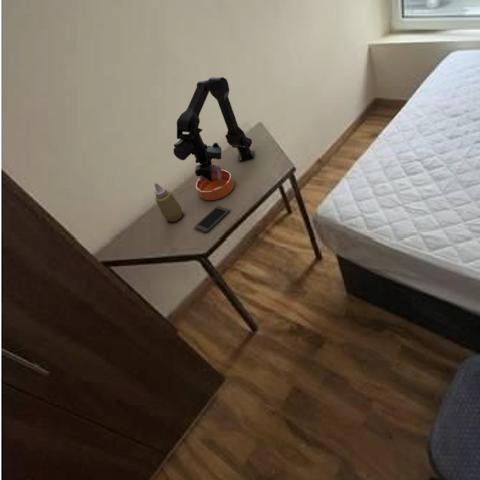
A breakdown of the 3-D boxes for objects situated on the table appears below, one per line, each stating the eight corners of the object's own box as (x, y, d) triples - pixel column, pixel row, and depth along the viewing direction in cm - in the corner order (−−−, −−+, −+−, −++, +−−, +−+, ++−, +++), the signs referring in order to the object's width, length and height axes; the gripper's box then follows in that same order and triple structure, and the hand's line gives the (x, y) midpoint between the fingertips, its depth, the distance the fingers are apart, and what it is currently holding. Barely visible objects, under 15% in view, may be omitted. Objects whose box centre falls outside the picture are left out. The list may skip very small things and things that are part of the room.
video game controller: (224, 179, 175) (221, 163, 173) (220, 181, 171) (217, 164, 169) (204, 181, 177) (200, 165, 175) (199, 183, 173) (196, 167, 171)
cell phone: (194, 228, 161) (193, 226, 161) (217, 207, 169) (217, 205, 168) (206, 233, 158) (206, 231, 157) (230, 211, 165) (229, 209, 165)
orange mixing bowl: (201, 183, 185) (197, 175, 181) (234, 175, 184) (230, 166, 181) (199, 204, 173) (194, 195, 170) (234, 195, 173) (230, 186, 169)
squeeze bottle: (168, 226, 166) (147, 192, 153) (164, 216, 171) (144, 183, 159) (186, 218, 168) (167, 184, 155) (182, 208, 173) (163, 174, 161)
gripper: (215, 152, 156) (229, 184, 167) (217, 130, 170) (229, 160, 180) (188, 159, 156) (203, 190, 167) (191, 136, 170) (206, 167, 181)
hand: (211, 176), depth 174 cm, fingers closed on video game controller, 6 cm apart
